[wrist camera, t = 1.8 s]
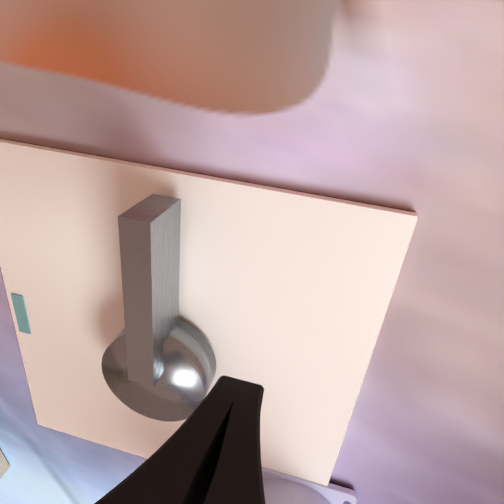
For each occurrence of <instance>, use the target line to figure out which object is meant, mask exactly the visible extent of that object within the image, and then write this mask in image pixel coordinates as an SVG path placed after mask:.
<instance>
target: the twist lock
mask: <svg viewBox="0 0 504 504" xmlns="http://www.w3.org/2000/svg"><path fill="white" fill-rule="evenodd" d="M180 218H181V199H178V198H173V197H168V196H162V195H157V194H151V195H150V196H148V197H147V198H145V199H144V200H142V201H141V202H139V203H137V204H136V205H134V206H133V207H131V208H130V209H128V210H127V211H125V212H124V213H122V214H120V215H119V216H118V228H119V243H120V259H121V274H122V290H123V305H124V320H125V328H124V329H123V330H122V331H121V333H120V334H119V335H118V336H117V337H116V338H115V339H114V341H113V342H112V343H111V344H110V345H109V346H108V348H107V349H106V350H105V352H104V354H103V357H102V362H101V366H102V373H103V376H104V379H105V381H106V383H107V385H108V387H109V388H110V390H111V391H112V392H113V394H114V395H115V396H116V397H117V398H118V399H119V400H120V401H121V402H122V403H124V404H125V405H126V406H127V407H129V408H130V409H132V410H133V411H135V412H137V413H139V414H141V415H143V416H146V417H148V418H151V419H155V420H159V421H167V422H174V421H181V420H185V419H187V418H188V417H189V416H190V415H191V414H192V413H193V412H194V410H195V409H196V408H197V407H198V406H199V404H200V403H201V402H202V401H203V400H204V398H205V397H206V394H207V392H208V390H209V388H210V385H211V383H212V381H213V379H214V376H215V373H216V358H215V355H214V352H213V350H212V347H211V346H210V344H209V343H208V341H207V340H206V339H205V337H204V336H203V335H202V334H201V333H200V332H199V331H198V330H197V329H195V328H194V327H193V326H191V325H190V324H188V323H187V322H185V321H183V320H181V319H179V270H180Z"/></svg>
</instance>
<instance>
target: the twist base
mask: <svg viewBox="0 0 504 504" xmlns="http://www.w3.org/2000/svg"><path fill="white" fill-rule="evenodd" d="M151 194H157V195H162V196H168V197H173V198H178V199H181V218H180V270H179V319H181V320H183V321H185V322H187V323H188V324H190V325H191V326H193V327H194V328H195V329H197V330H198V331H199V332H200V333H201V334H202V335H203V336H204V337H205V339H206V340H207V341H208V343H209V344H210V346H211V347H212V350H213V352H214V355H215V358H216V373H215V376H214V379H213V381H212V383H211V385H210V388H209V390H208V392H207V394H206V396H207V395H208V393H209V392H210V391H211V389H212V388H213V386H214V385H215V384H216V382H217V381H218V379H219V378H220V377H221V376H223V375H225V376H229V377H233V378H236V379H240V380H244V381H248V382H252V383H255V384H259V385H262V386H263V388H264V394H263V400H262V406H261V413H260V448H261V466H262V467H265V468H268V469H271V470H275V471H278V472H281V473H285V474H288V475H291V476H295V477H298V478H301V479H305V480H308V481H311V482H315V483H318V484H321V485H325V486H328V483H329V480H330V477H331V474H332V471H333V468H334V465H335V463H336V460H337V457H338V454H339V451H340V448H341V445H342V442H343V439H344V436H345V433H346V430H347V427H348V424H349V421H350V418H351V415H352V412H353V409H354V406H355V403H356V400H357V397H358V394H359V391H360V388H361V385H362V382H363V379H364V376H365V373H366V370H367V367H368V364H369V362H370V359H371V356H372V353H373V350H374V347H375V344H376V341H377V338H378V335H379V332H380V329H381V326H382V323H383V320H384V317H385V314H386V311H387V308H388V305H389V302H390V299H391V296H392V293H393V290H394V287H395V284H396V281H397V278H398V275H399V272H400V269H401V266H402V263H403V261H404V258H405V255H406V252H407V249H408V246H409V243H410V240H411V237H412V234H413V231H414V228H415V225H416V222H417V219H418V215H417V213H416V212H410V211H405V210H399V209H394V208H388V207H382V206H377V205H371V204H365V203H360V202H354V201H348V200H343V199H337V198H332V197H326V196H320V195H315V194H309V193H303V192H298V191H292V190H287V189H281V188H275V187H270V186H264V185H258V184H253V183H247V182H241V181H236V180H230V179H225V178H219V177H213V176H208V175H202V174H196V173H191V172H185V171H179V170H174V169H168V168H163V167H157V166H151V165H146V164H140V163H134V162H129V161H123V160H118V159H112V158H106V157H101V156H95V155H89V154H84V153H78V152H72V151H67V150H61V149H56V148H50V147H44V146H39V145H33V144H27V143H22V142H16V141H10V140H5V139H0V267H1V271H2V275H3V280H4V284H5V288H6V292H7V297H8V301H9V305H10V309H11V313H12V318H13V322H14V326H15V330H16V334H17V339H18V343H19V347H20V351H21V355H22V360H23V364H24V368H25V372H26V376H27V381H28V385H29V389H30V393H31V398H32V402H33V406H34V410H35V414H36V419H37V423H38V425H41V426H44V427H47V428H50V429H54V430H57V431H60V432H63V433H66V434H70V435H73V436H76V437H79V438H83V439H86V440H89V441H92V442H95V443H99V444H102V445H105V446H108V447H111V448H115V449H118V450H121V451H124V452H127V453H131V454H134V455H137V456H140V457H143V458H147V459H148V458H149V457H150V456H151V455H153V454H154V453H155V452H156V451H157V450H158V449H159V448H160V447H161V446H162V445H163V444H164V443H165V442H166V441H167V440H168V439H169V438H170V437H171V436H172V435H173V434H174V433H175V432H176V431H177V429H178V428H179V427H180V426H181V425H182V424H183V423H184V422H185V421H186V419H185V420H181V421H174V422H167V421H159V420H155V419H151V418H148V417H146V416H143V415H141V414H139V413H137V412H135V411H133V410H132V409H130V408H129V407H127V406H126V405H125V404H124V403H122V402H121V401H120V400H119V399H118V398H117V397H116V396H115V395H114V394H113V392H112V391H111V390H110V388H109V387H108V385H107V383H106V381H105V379H104V376H103V373H102V366H101V362H102V357H103V354H104V352H105V350H106V349H107V348H108V346H109V345H110V344H111V343H112V342H113V341H114V339H115V338H116V337H117V336H118V335H119V334H120V333H121V331H122V330H123V329H124V328H125V320H124V305H123V290H122V274H121V259H120V243H119V228H118V216H119V215H120V214H122V213H124V212H125V211H127V210H128V209H130V208H131V207H133V206H134V205H136V204H137V203H139V202H141V201H142V200H144V199H145V198H147V197H148V196H150V195H151Z"/></svg>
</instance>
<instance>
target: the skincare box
mask: <svg viewBox="0 0 504 504" xmlns="http://www.w3.org/2000/svg"><path fill="white" fill-rule="evenodd" d="M9 467H10V465H9V464H8V462H7V460H6V459H5V457H4V455H3V453H2V452H1V450H0V478H1V477H2V476H3V474H4V473H5V472H6V471H7V470H8V469H9Z"/></svg>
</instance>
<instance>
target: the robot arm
mask: <svg viewBox="0 0 504 504" xmlns="http://www.w3.org/2000/svg"><path fill="white" fill-rule="evenodd" d="M263 394H264V388H263V386H262V385H259V384H255V383H252V382H248V381H244V380H240V379H236V378H233V377H229V376H225V375H223V376H221V377H220V378H219V379H218V381H217V382H216V384H215V385H214V386H213V388H212V389H211V391H210V392H209V393H208V395H207V396H206V397H205V398H204V400H203V401H202V402H201V403H200V404H199V406H198V407H197V408H196V409H195V410H194V412H193V413H192V414H191V415H190V416H189V417H188V418H187V419H186V421H185V422H184V423H183V424H182V425H181V426H180V427H179V428H178V429H177V431H176V432H175V433H174V434H173V435H172V436H171V437H170V438H169V439H168V440H167V441H166V442H165V443H164V444H163V445H162V446H161V447H160V448H159V449H158V450H157V451H156V452H155V453H154V454H153V455H151V456H150V457H149V458H148V459H147V460H146V461H145V462H144V463H143V464H142V465H141V466H140V467H138V468H137V469H136V470H135V471H134V472H133V473H132V474H130V475H129V476H128V477H127V478H126V479H125V480H123V481H122V482H121V483H120V484H118V485H117V486H116V487H115V488H113V489H112V490H111V491H110V492H109V493H107V494H106V495H105V496H104V497H102V498H101V499H100V500H98V501H97V502H96V503H94V504H356V502H357V494H356V492H355V491H353V490H351V489H348V488H345V487H341V486H338V485H335V484H331V483H328V486H325V485H321V484H318V483H315V482H311V481H308V480H305V479H301V478H298V477H295V476H291V475H288V474H285V473H281V472H278V471H275V470H271V469H268V468H265V467H262V466H261V448H260V413H261V406H262V400H263Z"/></svg>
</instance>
